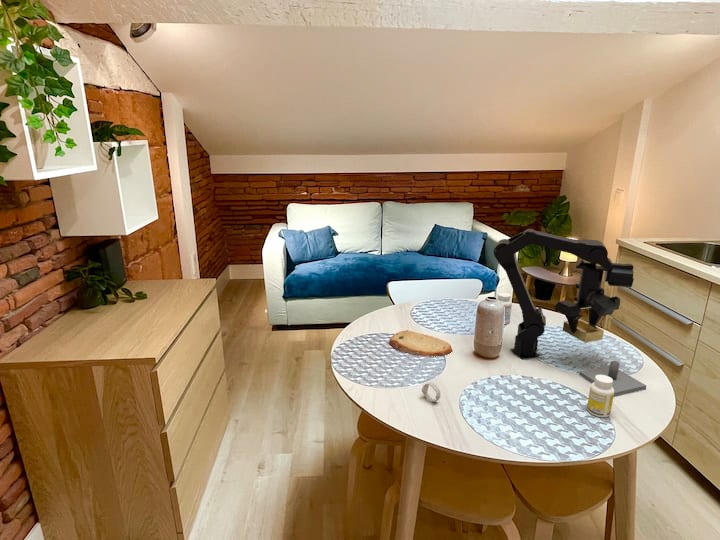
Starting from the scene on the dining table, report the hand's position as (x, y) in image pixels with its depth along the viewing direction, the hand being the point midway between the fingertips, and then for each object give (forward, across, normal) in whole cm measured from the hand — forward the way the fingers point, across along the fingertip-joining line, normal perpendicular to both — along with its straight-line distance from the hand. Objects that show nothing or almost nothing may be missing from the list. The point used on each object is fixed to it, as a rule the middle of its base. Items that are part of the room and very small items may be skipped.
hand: (582, 331), depth 133 cm
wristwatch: (+11, -53, -4) cm, 54 cm away
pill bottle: (+11, -4, +34) cm, 36 cm away
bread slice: (+11, -42, +26) cm, 51 cm away
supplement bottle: (+11, -14, -22) cm, 28 cm away
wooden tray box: (+1, 0, 0) cm, 1 cm away
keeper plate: (+11, +1, -12) cm, 16 cm away
